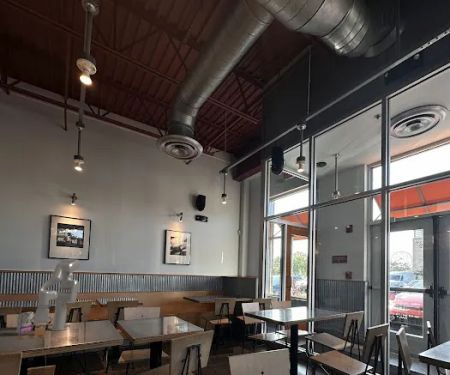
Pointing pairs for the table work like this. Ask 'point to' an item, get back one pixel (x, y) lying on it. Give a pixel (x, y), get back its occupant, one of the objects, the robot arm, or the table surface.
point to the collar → (39, 331)
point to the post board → (31, 335)
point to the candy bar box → (24, 322)
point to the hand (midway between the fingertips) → (40, 330)
